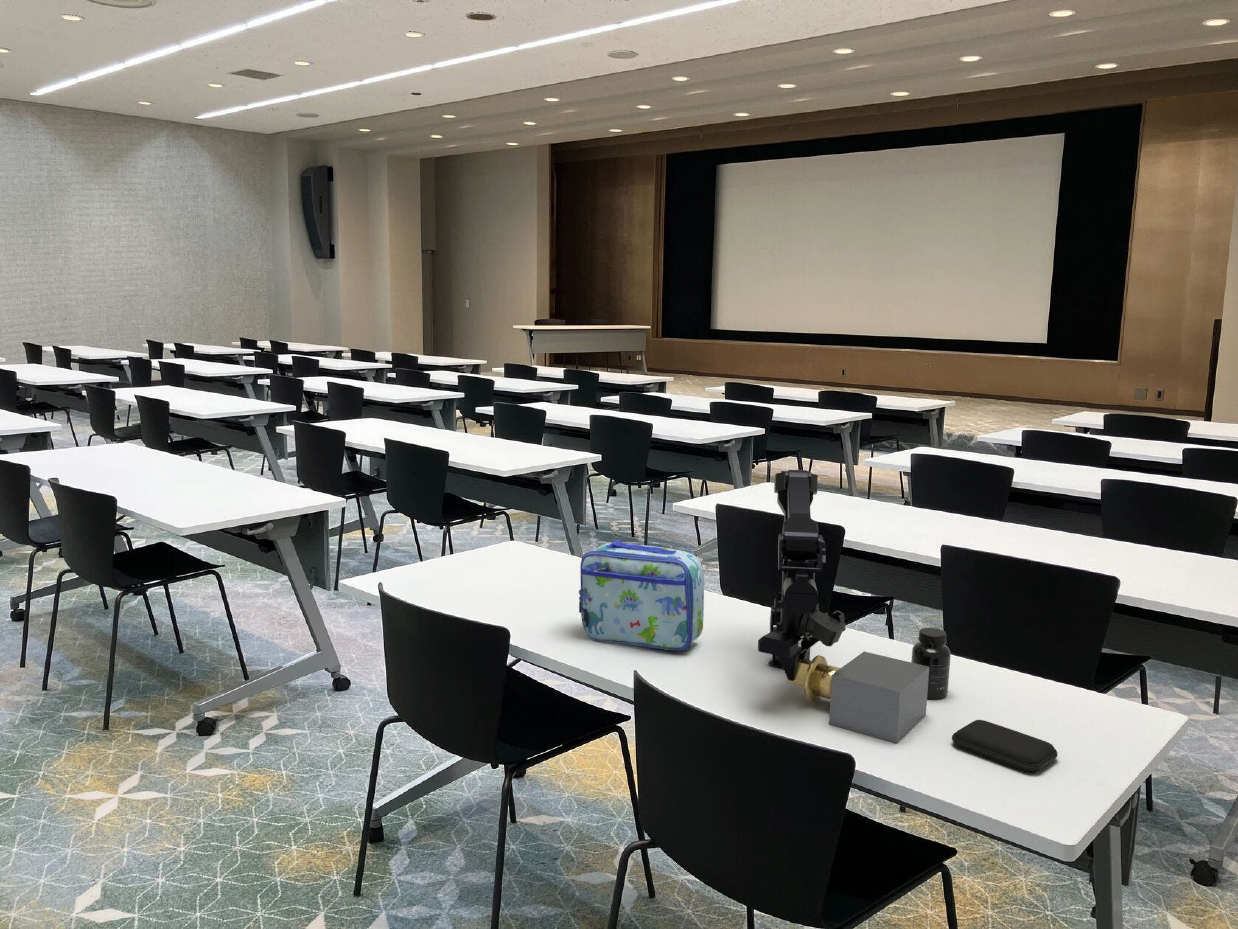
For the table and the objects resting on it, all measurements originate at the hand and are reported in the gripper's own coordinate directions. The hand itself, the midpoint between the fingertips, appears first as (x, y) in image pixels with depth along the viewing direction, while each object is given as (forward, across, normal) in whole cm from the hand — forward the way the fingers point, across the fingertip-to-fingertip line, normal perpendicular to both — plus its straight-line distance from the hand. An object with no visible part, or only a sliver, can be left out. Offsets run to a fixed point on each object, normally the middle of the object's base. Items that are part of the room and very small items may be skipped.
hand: (794, 678), depth 180 cm
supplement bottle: (+4, +17, -19) cm, 26 cm away
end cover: (+3, 0, -4) cm, 5 cm away
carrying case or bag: (+4, +1, -37) cm, 38 cm away
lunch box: (+4, +6, +39) cm, 39 cm away
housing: (+4, 0, -16) cm, 17 cm away
